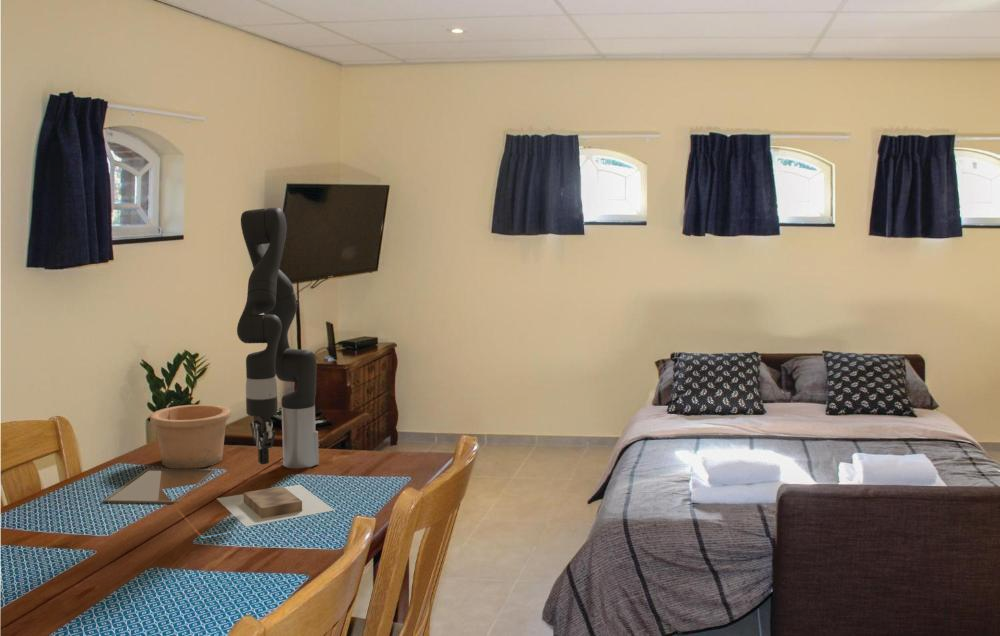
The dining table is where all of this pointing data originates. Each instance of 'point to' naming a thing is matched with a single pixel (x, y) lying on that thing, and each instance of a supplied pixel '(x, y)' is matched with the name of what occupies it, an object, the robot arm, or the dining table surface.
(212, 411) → the pottery
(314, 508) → the mat
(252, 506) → the walnut tile
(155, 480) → the picture frame
